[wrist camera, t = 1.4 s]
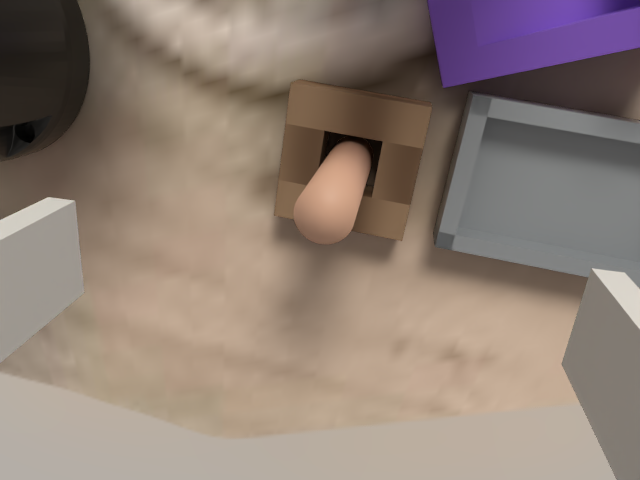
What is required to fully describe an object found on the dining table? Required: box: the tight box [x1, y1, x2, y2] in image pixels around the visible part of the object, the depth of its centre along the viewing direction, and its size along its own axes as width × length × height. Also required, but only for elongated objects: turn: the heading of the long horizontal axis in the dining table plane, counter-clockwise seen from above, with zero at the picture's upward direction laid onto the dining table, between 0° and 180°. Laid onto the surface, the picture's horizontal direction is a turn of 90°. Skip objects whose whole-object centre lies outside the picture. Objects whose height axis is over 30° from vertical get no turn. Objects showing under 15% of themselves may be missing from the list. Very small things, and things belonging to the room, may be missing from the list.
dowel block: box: [274, 79, 432, 241], centre depth 32 cm, size 8×8×2 cm
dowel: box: [294, 135, 373, 244], centre depth 28 cm, size 3×3×12 cm
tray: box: [433, 91, 640, 288], centre depth 31 cm, size 14×9×2 cm, turn 81°
